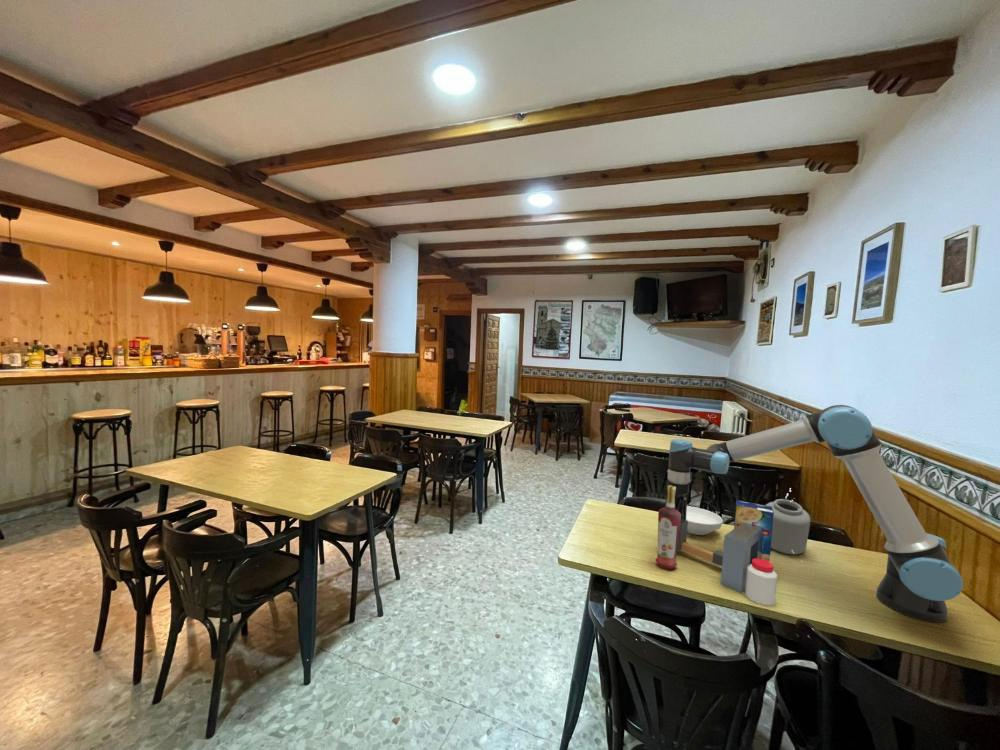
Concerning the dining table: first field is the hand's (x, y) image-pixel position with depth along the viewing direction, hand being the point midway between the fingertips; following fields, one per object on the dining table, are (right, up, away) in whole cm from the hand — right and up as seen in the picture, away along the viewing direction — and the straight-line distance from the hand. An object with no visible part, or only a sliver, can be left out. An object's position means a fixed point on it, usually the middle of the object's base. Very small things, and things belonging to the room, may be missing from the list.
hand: (673, 541), depth 151 cm
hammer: (+5, -2, -6) cm, 8 cm away
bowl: (+17, -4, +19) cm, 26 cm away
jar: (+45, -6, +6) cm, 46 cm away
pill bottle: (+14, -6, -28) cm, 32 cm away
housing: (+15, -5, -17) cm, 23 cm away
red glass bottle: (-8, -4, -11) cm, 14 cm away
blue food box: (+23, -6, -8) cm, 25 cm away
